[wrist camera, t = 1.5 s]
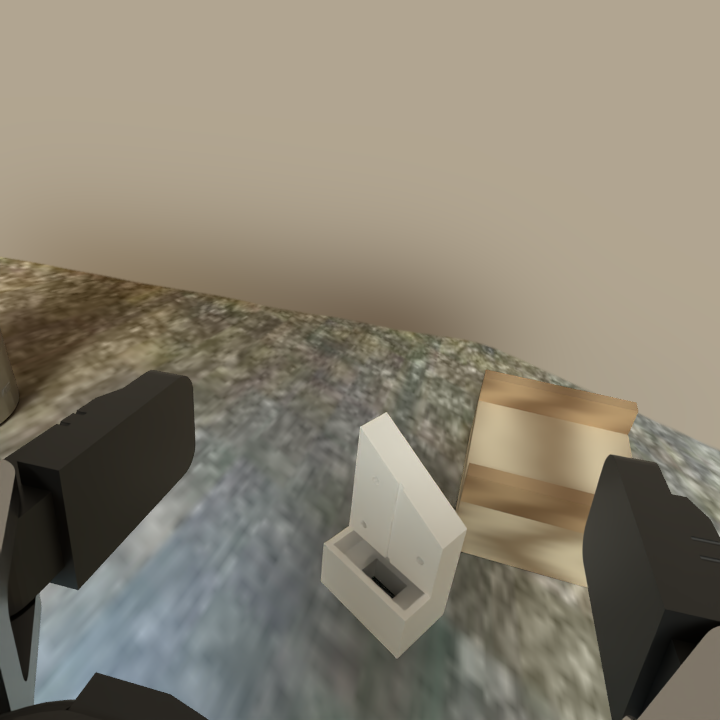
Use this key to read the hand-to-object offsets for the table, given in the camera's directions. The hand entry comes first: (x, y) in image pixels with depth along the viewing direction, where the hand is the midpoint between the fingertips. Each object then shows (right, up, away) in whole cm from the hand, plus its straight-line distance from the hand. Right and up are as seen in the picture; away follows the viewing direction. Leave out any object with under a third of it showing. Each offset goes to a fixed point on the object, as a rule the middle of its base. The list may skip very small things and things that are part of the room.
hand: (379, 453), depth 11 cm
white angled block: (+1, -11, +20) cm, 23 cm away
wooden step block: (+11, -8, +26) cm, 30 cm away
